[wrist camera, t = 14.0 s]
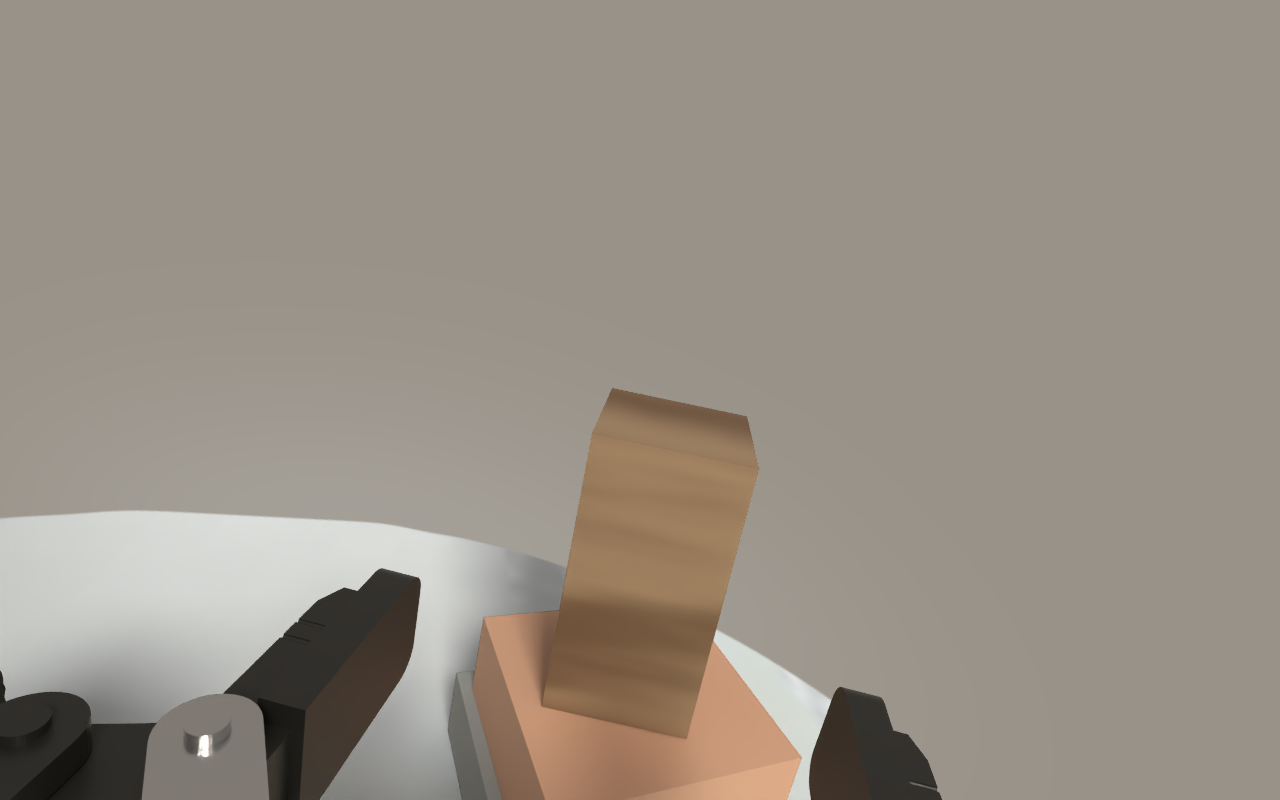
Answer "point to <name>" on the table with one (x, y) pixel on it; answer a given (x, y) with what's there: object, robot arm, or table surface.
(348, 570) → the table surface
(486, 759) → the tower bottom
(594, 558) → the tall block
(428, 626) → the table surface
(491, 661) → the tower top
